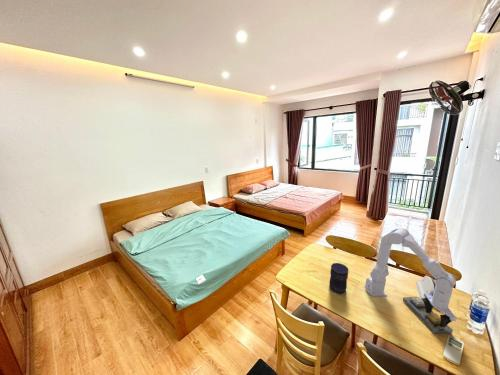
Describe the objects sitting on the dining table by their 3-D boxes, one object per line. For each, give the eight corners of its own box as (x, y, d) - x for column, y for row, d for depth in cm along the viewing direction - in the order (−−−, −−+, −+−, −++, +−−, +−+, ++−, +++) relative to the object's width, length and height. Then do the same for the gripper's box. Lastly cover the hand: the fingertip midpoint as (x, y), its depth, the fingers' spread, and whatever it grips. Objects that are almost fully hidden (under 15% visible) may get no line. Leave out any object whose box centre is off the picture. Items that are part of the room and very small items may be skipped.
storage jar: (347, 295, 118) (350, 274, 114) (330, 293, 120) (332, 272, 116) (344, 283, 127) (346, 263, 124) (328, 281, 129) (329, 262, 126)
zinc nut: (416, 311, 107) (418, 302, 105) (410, 305, 110) (412, 296, 109) (423, 310, 107) (425, 302, 105) (417, 304, 111) (419, 296, 109)
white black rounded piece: (415, 282, 127) (425, 271, 123) (423, 286, 125) (434, 275, 121) (420, 300, 113) (431, 288, 109) (430, 305, 112) (442, 294, 107)
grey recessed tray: (435, 334, 94) (436, 330, 93) (402, 300, 113) (403, 297, 113) (451, 333, 94) (452, 329, 94) (416, 300, 113) (417, 296, 113)
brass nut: (433, 328, 97) (435, 319, 96) (426, 321, 101) (428, 312, 99) (441, 328, 97) (443, 319, 96) (433, 320, 101) (436, 312, 99)
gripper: (465, 309, 88) (458, 333, 91) (435, 285, 102) (429, 306, 105) (450, 310, 87) (443, 333, 91) (421, 286, 101) (416, 307, 105)
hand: (435, 319), depth 98 cm, fingers open, 7 cm apart
